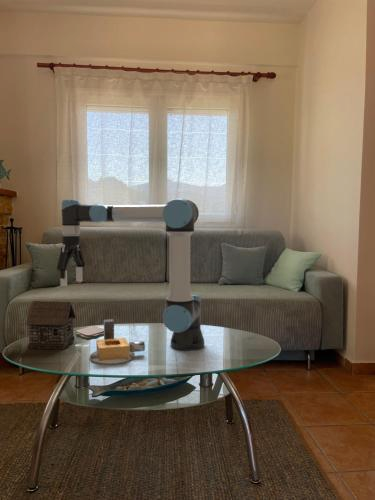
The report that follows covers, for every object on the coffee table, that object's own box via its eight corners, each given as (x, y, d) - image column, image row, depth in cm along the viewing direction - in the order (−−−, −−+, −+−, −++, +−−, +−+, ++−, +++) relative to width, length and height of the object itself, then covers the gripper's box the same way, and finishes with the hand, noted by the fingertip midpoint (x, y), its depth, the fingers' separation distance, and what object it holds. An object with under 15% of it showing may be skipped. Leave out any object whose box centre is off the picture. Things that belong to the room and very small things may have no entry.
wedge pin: (113, 345, 189) (112, 319, 188) (114, 348, 185) (113, 321, 184) (104, 346, 188) (103, 319, 187) (104, 348, 184) (104, 321, 183)
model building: (25, 349, 183) (24, 304, 181) (39, 340, 197) (38, 297, 196) (66, 350, 182) (65, 304, 180) (77, 340, 196) (76, 298, 194)
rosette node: (140, 348, 185) (140, 334, 185) (148, 361, 168) (148, 346, 167) (88, 352, 179) (88, 338, 178) (91, 366, 162) (91, 351, 161)
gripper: (77, 234, 197) (78, 279, 198) (47, 236, 173) (48, 287, 174) (92, 234, 195) (92, 279, 197) (64, 236, 171) (65, 288, 173)
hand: (71, 283), depth 186 cm, fingers open, 13 cm apart
